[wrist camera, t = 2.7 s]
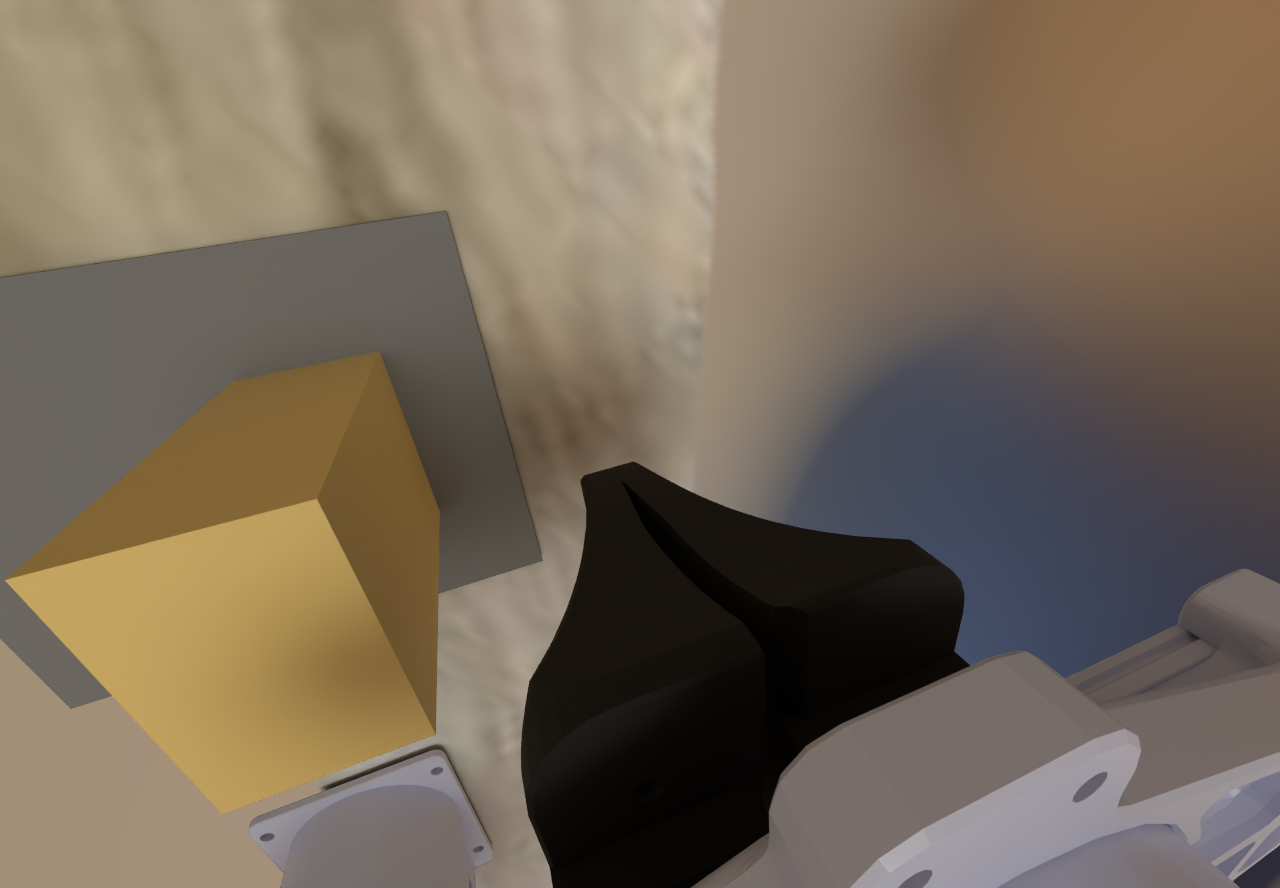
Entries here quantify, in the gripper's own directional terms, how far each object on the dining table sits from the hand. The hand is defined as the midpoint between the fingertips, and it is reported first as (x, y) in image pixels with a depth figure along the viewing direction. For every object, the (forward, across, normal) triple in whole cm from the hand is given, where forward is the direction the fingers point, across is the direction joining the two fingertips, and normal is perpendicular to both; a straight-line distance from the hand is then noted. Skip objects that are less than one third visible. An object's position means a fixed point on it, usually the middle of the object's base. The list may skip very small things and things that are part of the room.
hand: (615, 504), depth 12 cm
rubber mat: (+8, +10, 0) cm, 12 cm away
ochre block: (+7, +7, 0) cm, 10 cm away
